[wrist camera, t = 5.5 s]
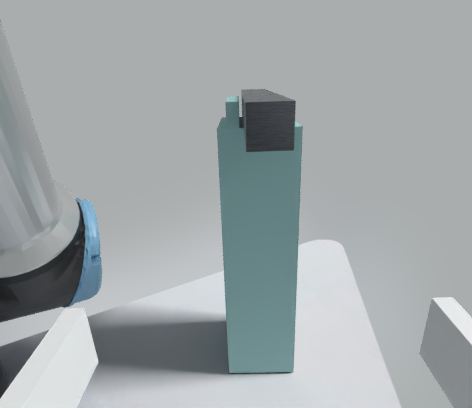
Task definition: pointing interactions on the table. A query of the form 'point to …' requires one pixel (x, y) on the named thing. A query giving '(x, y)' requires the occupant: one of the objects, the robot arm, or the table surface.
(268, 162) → the notched post
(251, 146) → the steel bar
